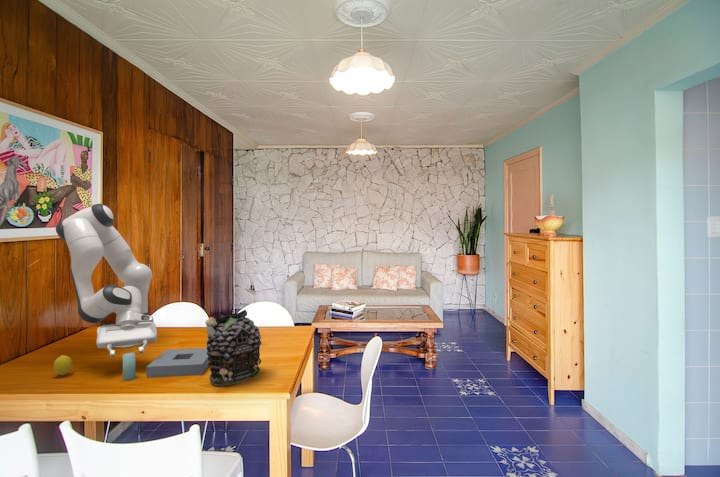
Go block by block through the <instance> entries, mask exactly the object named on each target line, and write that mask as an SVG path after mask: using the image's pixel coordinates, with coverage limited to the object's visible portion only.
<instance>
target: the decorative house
mask: <svg viewBox="0 0 720 477" xmlns="http://www.w3.org/2000/svg"><path fill="white" fill-rule="evenodd" d="M246 316H248V312H247V310H246V309H244V310H242V311H240V312H238V313H237V312H234V313H222V314H221V315H220V319H219V321H218V319H216V318H215V317H213V316H212V317H209V318H207V319H206V320H205V325H206V334H207V339H206V347H205V348H207V355H208V361H207V362H208V365H209V366H208V367H209V371H210V372H211V373H210V375H209V381H210V382H211V384H212V385H215V386H230V385H234V384H238V383H239V384H240V383H241V382H245V381H248V380H250V379H253V378H255V377H258V375H259V374H260V371H261V367H260V366H259V365H261V363H262V359H261V358H260V356H261V355H260V348H261V347H260V346H262V344H263V342H262V341H261V339H262V335H261V331H260V330H259V327H258V326H257V325H256V324H255V322H254V320H252V319H250V318H249V317H246Z"/></svg>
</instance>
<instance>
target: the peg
mask: <svg viewBox="0 0 720 477" xmlns="http://www.w3.org/2000/svg"><path fill="white" fill-rule="evenodd" d="M136 373H137V371H136V353H135V352H126V353H124V354H122V380H123V381H131V380H135V379H136V377H137V375H136Z"/></svg>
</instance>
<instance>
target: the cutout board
mask: <svg viewBox="0 0 720 477" xmlns="http://www.w3.org/2000/svg"><path fill="white" fill-rule="evenodd" d="M207 361H208V355H207V348H206V347H203V348H202V347H201V348H199V347H198V348H176V349H165V350H164V351H163V352H162V353H161V354H160V355H158V356H157V357H156V358H154V360H153V361H151V362H150V363H149V364H148V365H146V378H161V377H163V376H164V377H179V376H180V377H181V376H184V377H185V376H199V375H200V376H201V375H203V374H204V373H205V372H206V371H207V369H208V367H210V366H209V365H208V362H207ZM164 377H163V378H164Z"/></svg>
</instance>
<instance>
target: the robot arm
mask: <svg viewBox="0 0 720 477" xmlns="http://www.w3.org/2000/svg"><path fill="white" fill-rule="evenodd" d="M114 222H115V216H114V214H113V212H112V210H111V208H109V206H107V205H105V204H103V203H96V204H92V205H91V206H88V207H85V208H83V209H80V210H78V211H77V212H75V213H73V214H71V215H70V216H68V217H66V218H64V219H63V218H62V219H61V220H60V221H59V222H57V223H56V225H55V231H56V232H55V233H56V234H57V236H58V237H59V238H60V239H61V240H62V241H64V242H65V243H66V245H67V247H68V250H69V254H70V260H71V261H70V262H71V265H70V274H71V275H70V276H71V280H72V284H73V288H74V291H75V292H74V293H75V296H76V300H77V314H78V315H79V318H80V319H81V320H83V321H84V322H86V323H90V324H98V323H101V322H103V320H105V319H106V318H107V317H108V316H109V315H110V314H112V313H114V314H116V317H115V323H111V324H103V325H100V326H99V327H98V328H96V335H97V336H96V341H95V344H96V347H97V348H98V349H107V351H108V352H109V357H110V358H111V357H113V358H114V357H116V350H115V349H113V348H130V347H134V346H135V347H136V346H140V345H142V346H140V347H139V348H138V351H139V354H144V352H145V348H146V347H147V346H148V344H150V343H156V341H158V331H157V326H156V323H155V320H154V316H152V315H150V313H149V310H148V309H149V306H148V305H149V303H148V302H149V301H148V298H149V290H150V284H151V280H152V278H153V271H152V270H151V268H150V267H149V266H148V265H146V264H144V263H141V262H139V261H138V260H137V258H136V257H135V255H134V254H133V252H132V249H131V246H130V245H129V244H128V243H127V241H125V239H124V237H123V236H122V235H121V233H120V232H119V231H118V230H117V229H116V228H115V226H113V224H114ZM103 257H104V259H105V260H106V261H107V263H108V264H109V266H110V267H111V269H112V271H113V272H114V274H115V275H116V277H117V278H118V279H119V280H120V281H121V282H122V283H123V285H124V286H122V287H121V286H119V285H115V284H108V285H105V286H104V287H102V288H101V289H99V290H98V291H97V292H95V290H94V285H93V283H92V275H93V272H94V270H95V269H96V267H97V265H98V264H99V262H101V260H102V258H103Z"/></svg>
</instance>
